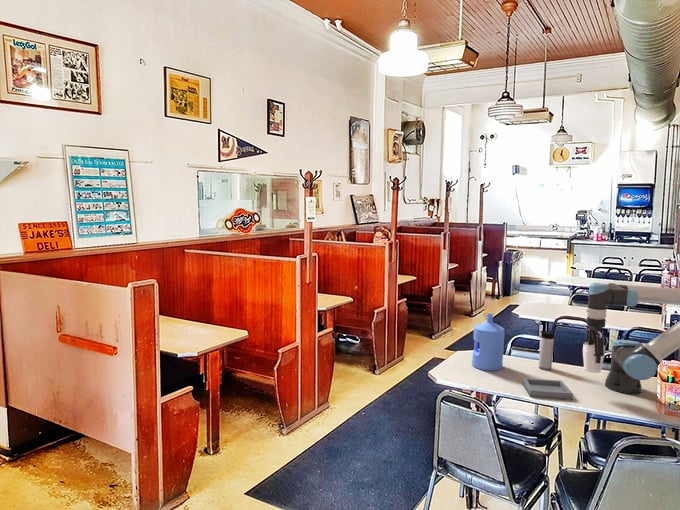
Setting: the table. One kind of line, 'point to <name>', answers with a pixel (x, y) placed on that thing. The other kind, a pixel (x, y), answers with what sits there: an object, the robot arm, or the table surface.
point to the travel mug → (546, 350)
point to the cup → (590, 357)
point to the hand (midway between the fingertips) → (592, 366)
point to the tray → (546, 388)
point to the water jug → (488, 345)
